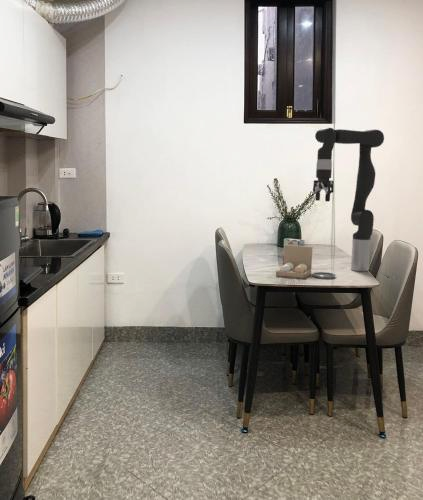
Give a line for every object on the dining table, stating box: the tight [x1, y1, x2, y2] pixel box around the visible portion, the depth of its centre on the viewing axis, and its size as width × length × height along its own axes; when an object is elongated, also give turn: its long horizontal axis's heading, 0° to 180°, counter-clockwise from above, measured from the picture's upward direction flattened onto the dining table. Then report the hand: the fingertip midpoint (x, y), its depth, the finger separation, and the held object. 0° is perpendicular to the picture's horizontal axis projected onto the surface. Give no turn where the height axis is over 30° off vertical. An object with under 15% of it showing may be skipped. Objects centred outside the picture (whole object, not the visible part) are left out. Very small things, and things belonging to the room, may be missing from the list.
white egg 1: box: [280, 264, 291, 272], centre depth 245 cm, size 5×5×5 cm
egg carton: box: [275, 244, 313, 280], centre depth 247 cm, size 15×15×14 cm
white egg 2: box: [285, 262, 294, 270], centre depth 252 cm, size 5×5×5 cm
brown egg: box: [294, 266, 304, 273], centre depth 243 cm, size 5×5×5 cm
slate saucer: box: [311, 271, 336, 280], centre depth 244 cm, size 11×11×1 cm
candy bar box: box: [282, 238, 305, 266], centre depth 263 cm, size 11×5×16 cm, turn 40°
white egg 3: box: [298, 264, 307, 271], centre depth 249 cm, size 5×5×5 cm
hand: (322, 201), depth 244 cm, fingers open, 8 cm apart
